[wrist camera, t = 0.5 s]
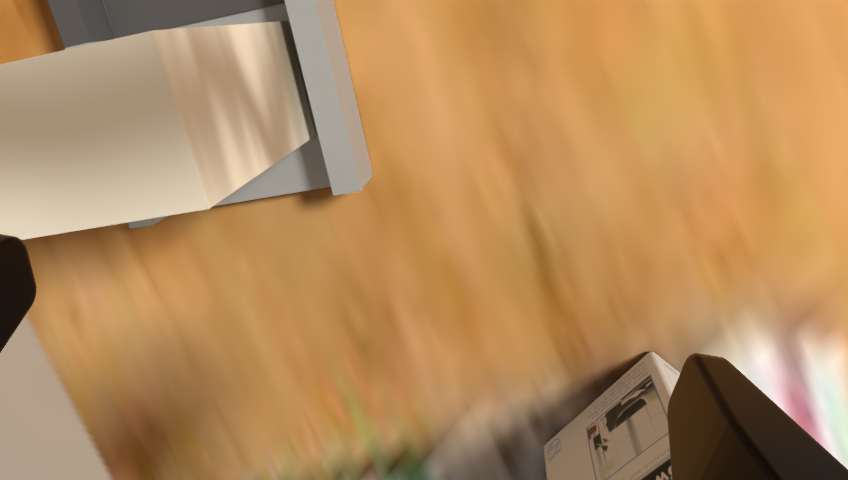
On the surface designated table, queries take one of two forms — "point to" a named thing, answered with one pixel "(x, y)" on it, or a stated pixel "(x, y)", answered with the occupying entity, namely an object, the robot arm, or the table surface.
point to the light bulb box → (619, 430)
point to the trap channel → (318, 63)
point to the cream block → (145, 125)
